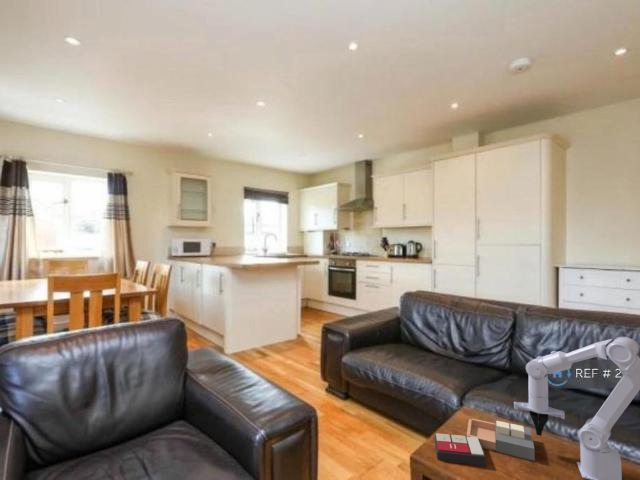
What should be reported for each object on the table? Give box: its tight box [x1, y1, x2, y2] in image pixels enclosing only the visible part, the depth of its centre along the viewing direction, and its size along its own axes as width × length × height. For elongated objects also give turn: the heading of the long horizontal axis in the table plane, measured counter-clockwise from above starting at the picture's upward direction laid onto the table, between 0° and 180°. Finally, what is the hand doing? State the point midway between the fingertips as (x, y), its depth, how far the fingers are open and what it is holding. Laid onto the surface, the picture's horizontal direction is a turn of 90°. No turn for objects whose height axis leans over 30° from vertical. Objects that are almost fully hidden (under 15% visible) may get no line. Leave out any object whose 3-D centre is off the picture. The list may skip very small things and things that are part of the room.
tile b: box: [495, 420, 510, 435], centre depth 119 cm, size 4×4×2 cm
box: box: [466, 417, 496, 452], centre depth 123 cm, size 9×14×3 cm, turn 152°
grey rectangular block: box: [495, 423, 536, 462], centre depth 118 cm, size 11×14×4 cm
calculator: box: [434, 433, 487, 468], centre depth 113 cm, size 11×4×15 cm
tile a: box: [509, 423, 525, 439], centre depth 117 cm, size 4×4×2 cm
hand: (538, 434), depth 114 cm, fingers closed
